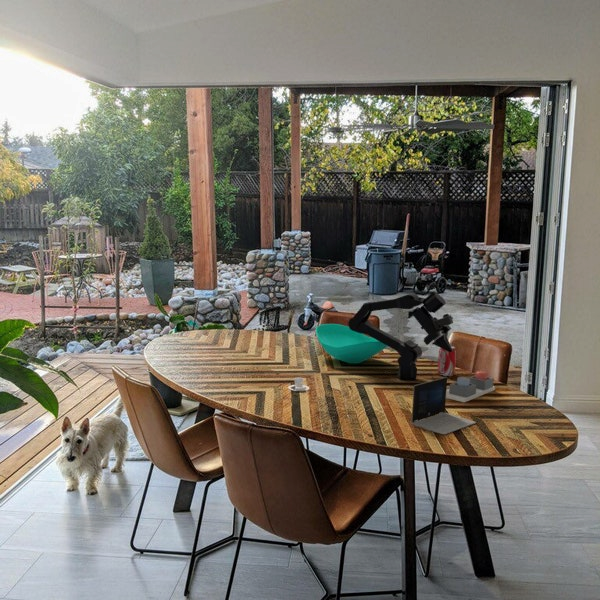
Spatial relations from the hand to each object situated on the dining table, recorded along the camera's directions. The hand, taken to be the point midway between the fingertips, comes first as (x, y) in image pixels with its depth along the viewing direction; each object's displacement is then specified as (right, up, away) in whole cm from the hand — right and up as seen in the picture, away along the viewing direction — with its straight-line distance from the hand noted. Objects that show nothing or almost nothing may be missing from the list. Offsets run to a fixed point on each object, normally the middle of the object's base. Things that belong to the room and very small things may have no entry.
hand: (451, 351), depth 250 cm
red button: (+10, -13, -4) cm, 17 cm away
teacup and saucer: (-62, -14, -11) cm, 64 cm away
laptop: (-13, -20, -44) cm, 50 cm away
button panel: (+4, -15, -8) cm, 17 cm away
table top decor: (-36, -7, +35) cm, 51 cm away
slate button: (+1, -14, -14) cm, 20 cm away
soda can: (+2, -11, +18) cm, 21 cm away
